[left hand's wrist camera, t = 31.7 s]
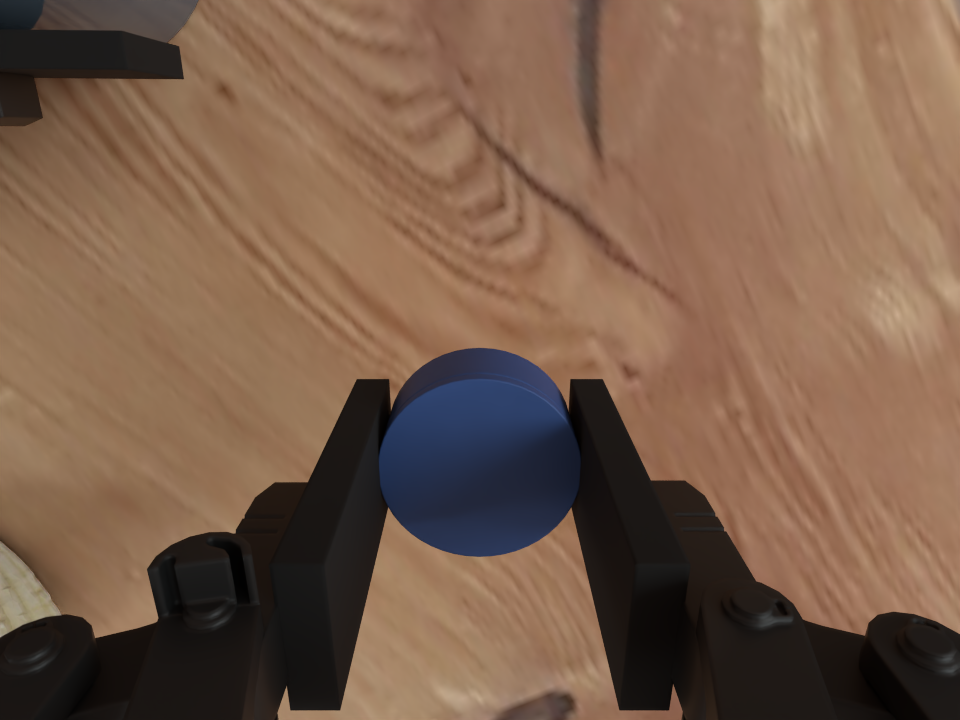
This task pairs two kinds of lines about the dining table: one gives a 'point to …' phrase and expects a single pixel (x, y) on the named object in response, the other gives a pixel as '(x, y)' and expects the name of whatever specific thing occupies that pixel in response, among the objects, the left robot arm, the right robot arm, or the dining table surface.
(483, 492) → the cap
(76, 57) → the right robot arm
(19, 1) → the bottle
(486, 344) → the dining table surface
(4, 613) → the seashell
